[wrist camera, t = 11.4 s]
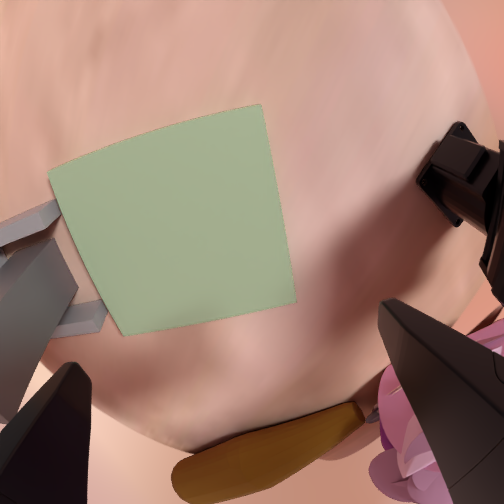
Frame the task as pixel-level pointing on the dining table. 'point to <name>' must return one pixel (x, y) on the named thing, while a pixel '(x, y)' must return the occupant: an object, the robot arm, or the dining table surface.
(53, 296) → the chute block
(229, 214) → the two-tone flat tray
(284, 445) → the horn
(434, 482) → the flower arrangement
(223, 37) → the dining table surface
